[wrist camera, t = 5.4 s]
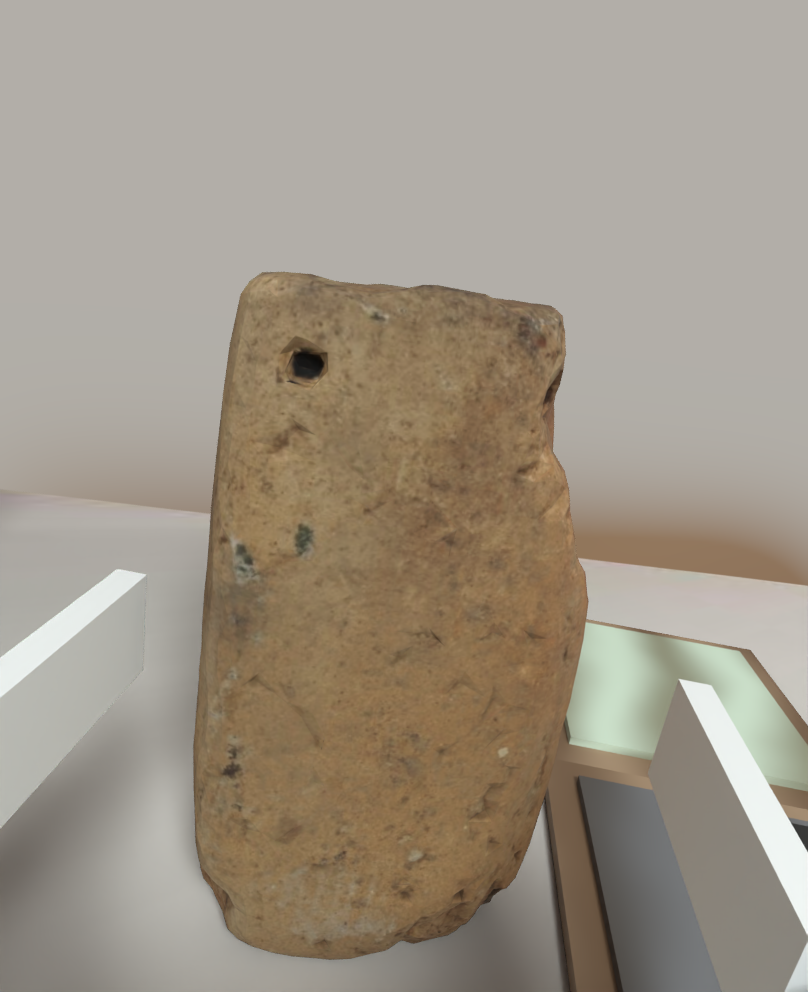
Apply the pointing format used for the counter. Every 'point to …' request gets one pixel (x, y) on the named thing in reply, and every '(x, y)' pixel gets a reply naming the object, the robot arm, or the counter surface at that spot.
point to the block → (381, 611)
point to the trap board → (647, 803)
